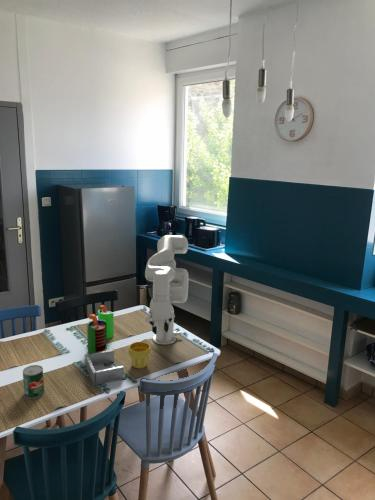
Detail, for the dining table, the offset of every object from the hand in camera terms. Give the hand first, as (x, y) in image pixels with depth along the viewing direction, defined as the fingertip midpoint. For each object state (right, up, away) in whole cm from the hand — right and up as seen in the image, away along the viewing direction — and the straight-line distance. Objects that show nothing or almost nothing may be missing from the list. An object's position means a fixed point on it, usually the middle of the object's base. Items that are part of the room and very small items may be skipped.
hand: (160, 331), depth 195 cm
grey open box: (-25, -17, -8) cm, 32 cm away
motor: (-33, -13, +10) cm, 37 cm away
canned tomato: (-51, -21, -25) cm, 61 cm away
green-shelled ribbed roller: (-32, -8, +29) cm, 44 cm away
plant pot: (-10, -16, -1) cm, 19 cm away
